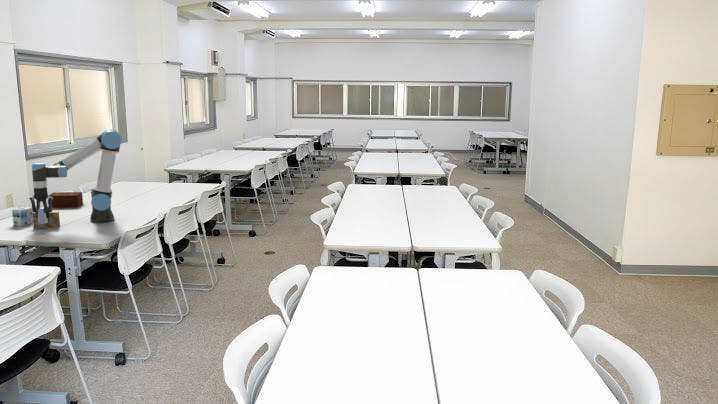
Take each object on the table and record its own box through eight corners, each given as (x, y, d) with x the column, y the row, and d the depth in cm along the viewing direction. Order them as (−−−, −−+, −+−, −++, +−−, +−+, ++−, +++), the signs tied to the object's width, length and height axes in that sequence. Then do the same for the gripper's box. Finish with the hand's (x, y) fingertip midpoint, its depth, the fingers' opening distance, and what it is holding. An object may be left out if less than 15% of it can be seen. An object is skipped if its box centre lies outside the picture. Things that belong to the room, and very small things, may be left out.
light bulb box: (21, 226, 347) (20, 210, 345) (12, 225, 348) (11, 209, 346) (34, 222, 357) (33, 207, 355) (26, 222, 359) (24, 206, 357)
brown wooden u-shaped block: (60, 226, 349) (58, 211, 347) (58, 227, 346) (57, 212, 345) (35, 226, 347) (34, 212, 345) (33, 227, 344) (32, 213, 342)
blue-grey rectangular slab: (48, 219, 352) (46, 204, 351) (52, 219, 353) (51, 204, 351) (39, 224, 339) (37, 208, 337) (44, 224, 339) (42, 208, 337)
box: (83, 203, 423) (82, 191, 421) (78, 207, 408) (77, 195, 406) (54, 204, 418) (53, 191, 416) (48, 208, 402) (47, 195, 401)
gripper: (56, 186, 342) (58, 221, 346) (29, 186, 339) (32, 221, 344) (51, 188, 335) (54, 224, 339) (23, 188, 332) (27, 224, 336)
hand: (43, 222), depth 341 cm, fingers closed on blue-grey rectangular slab, 3 cm apart
